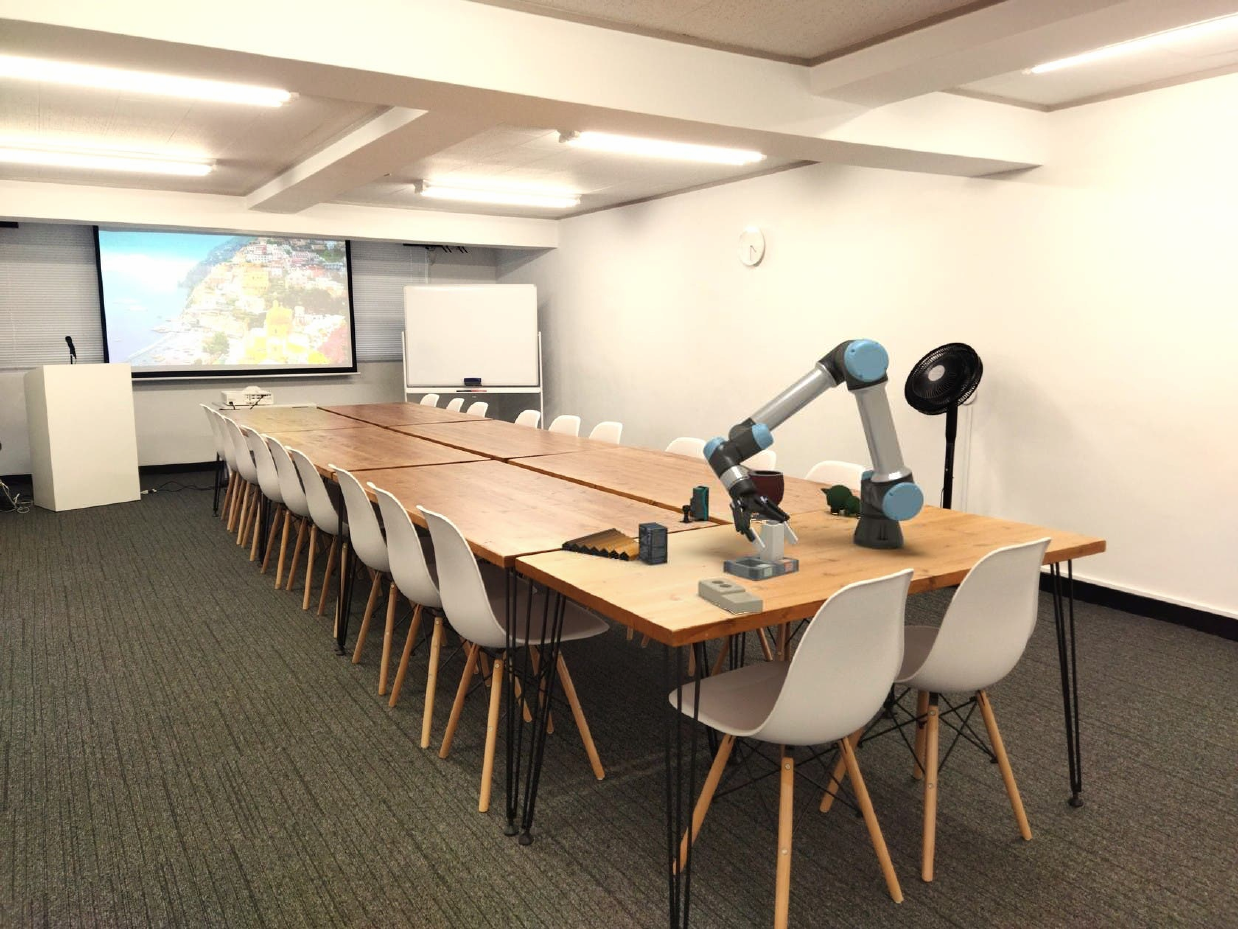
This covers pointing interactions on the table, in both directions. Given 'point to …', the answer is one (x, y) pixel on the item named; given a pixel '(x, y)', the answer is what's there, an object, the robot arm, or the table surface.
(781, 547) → the plug
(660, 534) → the box
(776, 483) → the mate gourd
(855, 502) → the toy figurine
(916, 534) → the table surface
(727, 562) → the socket block
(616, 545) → the pan flute
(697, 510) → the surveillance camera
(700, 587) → the electrical outlet
